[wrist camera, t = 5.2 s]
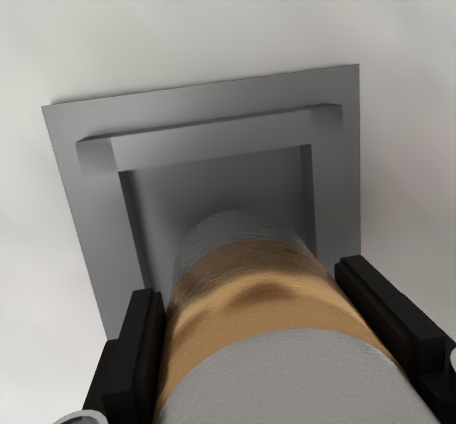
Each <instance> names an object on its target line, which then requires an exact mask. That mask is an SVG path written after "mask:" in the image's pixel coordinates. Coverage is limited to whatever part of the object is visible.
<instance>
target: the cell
mask: <svg viewBox="0 0 456 424" xmlns="http://www.w3.org/2000/svg"><path fill="white" fill-rule="evenodd" d="M152 424H441V423H440V422H439V420H438V419H437V418H436V416H435V415H434V414H433V412H432V411H431V410H430V408H429V407H428V406H427V404H426V403H425V402H424V401H423V399H422V398H421V397H420V395H419V394H418V393H417V391H416V390H415V389H414V387H413V386H412V384H411V382H410V380H409V378H408V376H407V375H406V373H405V372H404V370H403V368H402V367H401V366H400V364H399V363H398V362H397V361H396V359H395V358H394V357H393V355H392V354H391V353H390V351H389V350H388V349H387V348H386V346H385V345H384V344H383V342H382V341H381V340H380V339H379V337H378V336H377V335H376V333H375V332H374V331H373V329H372V328H371V327H370V326H369V324H368V323H367V322H366V320H365V319H364V318H363V317H362V315H361V314H360V313H359V311H358V310H357V309H356V307H355V306H354V305H353V304H352V302H351V301H350V300H349V298H348V297H347V296H346V295H345V293H344V292H343V291H342V289H341V288H340V287H339V285H338V284H337V283H336V282H335V280H334V279H333V278H332V276H331V275H330V274H329V273H328V271H327V270H326V269H325V268H324V266H323V265H322V264H321V263H320V262H319V261H318V260H317V259H316V258H315V257H314V256H313V254H312V253H311V252H310V251H309V249H308V248H307V247H306V245H305V244H304V243H303V241H302V240H301V239H300V237H299V236H298V235H297V233H296V232H295V231H294V230H293V229H292V228H291V227H290V226H289V225H288V224H287V223H286V222H284V221H283V220H281V219H280V218H278V217H276V216H274V215H272V214H270V213H267V212H264V211H260V210H254V209H233V210H228V211H224V212H221V213H218V214H215V215H213V216H211V217H209V218H207V219H205V220H204V221H202V222H201V223H199V224H198V225H197V226H196V227H195V228H194V229H192V230H191V232H190V233H189V234H188V235H187V236H186V237H185V239H184V240H183V242H182V243H181V245H180V247H179V249H178V251H177V254H176V257H175V261H174V267H173V275H172V283H171V291H170V299H169V302H168V306H167V311H166V318H165V326H164V334H163V341H162V349H161V357H160V365H159V373H158V381H157V388H156V396H155V404H154V412H153V420H152Z"/></svg>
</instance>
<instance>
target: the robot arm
mask: <svg viewBox="0 0 456 424" xmlns="http://www.w3.org/2000/svg"><path fill="white" fill-rule="evenodd" d="M334 277H335V282H336V283H337V284H338V285H339V287H340V288H341V289H342V291H343V292H344V293H345V295H346V296H347V297H348V298H349V300H350V301H351V302H352V304H353V305H354V306H355V307H356V309H357V310H358V311H359V313H360V314H361V315H362V317H363V318H364V319H365V320H366V322H367V323H368V324H369V326H370V327H371V328H372V329H373V331H374V332H375V333H376V335H377V336H378V337H379V339H380V340H381V341H382V342H383V344H384V345H385V346H386V348H387V349H388V350H389V351H390V353H391V354H392V355H393V357H394V358H395V359H396V361H397V362H398V363H399V364H400V366H401V367H402V368H403V370H404V372H405V373H406V375H407V376H408V378H409V380H410V382H411V384H412V386H413V387H414V389H415V390H416V391H417V393H418V394H419V395H420V397H421V398H422V399H423V401H424V402H425V403H426V404H427V406H428V407H429V408H430V410H431V411H432V412H433V414H434V415H435V416H436V418H437V419H438V420H439V422H440V423H441V424H456V343H455V342H454V341H453V340H452V339H451V338H450V337H449V336H448V335H447V334H446V333H445V332H444V331H443V330H442V329H440V328H439V327H438V326H437V325H436V324H435V323H434V322H433V321H432V320H431V319H430V318H429V317H428V316H427V315H426V314H424V313H423V312H422V311H421V310H420V309H419V308H418V307H417V306H416V305H415V304H414V303H413V302H412V301H411V300H410V299H409V298H407V297H406V296H405V295H404V294H402V293H401V292H400V291H399V290H397V289H396V288H395V287H394V286H393V285H392V284H391V283H390V282H389V281H388V280H387V279H386V278H385V277H384V276H383V275H382V274H381V273H379V272H378V271H377V270H376V269H375V268H374V267H373V266H372V265H371V264H370V263H369V262H368V261H367V260H366V259H365V258H364V257H363V256H361V255H354V256H347V257H341V258H340V261H339V263H335V265H334ZM165 318H166V313H165V308H164V303H163V299H162V294H161V292H160V291H158V292H154V289H153V288H146V289H140V290H134V291H133V292H132V296H131V299H130V302H129V305H128V308H127V312H126V315H125V318H124V321H123V325H122V328H121V331H120V334H119V337H118V339H112V340H108V341H107V342H106V344H105V346H104V349H103V352H102V354H101V357H100V360H99V363H98V366H97V369H96V371H95V374H94V377H93V380H92V383H91V385H90V388H89V391H88V394H87V397H86V399H85V402H84V405H83V408H82V410H81V411H77V412H73V413H70V414H68V415H66V416H64V417H62V418H60V419H59V420H57V421H56V422H55V423H53V424H152V420H153V412H154V404H155V396H156V388H157V381H158V373H159V365H160V357H161V349H162V341H163V334H164V326H165Z"/></svg>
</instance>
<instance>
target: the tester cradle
mask: <svg viewBox="0 0 456 424" xmlns="http://www.w3.org/2000/svg"><path fill="white" fill-rule="evenodd" d="M41 108H42V112H43V115H44V119H45V122H46V126H47V129H48V133H49V136H50V140H51V143H52V147H53V150H54V154H55V157H56V161H57V164H58V168H59V171H60V175H61V178H62V182H63V186H64V189H65V193H66V196H67V200H68V203H69V207H70V210H71V214H72V217H73V221H74V224H75V228H76V231H77V235H78V238H79V242H80V245H81V249H82V252H83V256H84V259H85V263H86V266H87V270H88V273H89V277H90V280H91V284H92V287H93V291H94V294H95V298H96V301H97V305H98V308H99V312H100V315H101V319H102V322H103V326H104V329H105V333H106V336H107V340H112V339H118V337H119V334H120V331H121V328H122V325H123V321H124V318H125V315H126V312H127V308H128V305H129V302H130V299H131V296H132V292H133V291H134V290H140V289H146V288H153V289H154V292H158V291H160V292H161V294H162V299H163V303H164V308H165V313H166V311H167V306H168V302H169V299H170V291H171V283H172V275H173V267H174V261H175V257H176V254H177V251H178V249H179V247H180V245H181V243H182V242H183V240H184V239H185V237H186V236H187V235H188V234H189V233H190V232H191V230H192V229H194V228H195V227H196V226H197V225H198V224H199V223H201V222H202V221H204V220H205V219H207V218H209V217H211V216H213V215H215V214H218V213H221V212H224V211H228V210H233V209H254V210H260V211H264V212H267V213H270V214H272V215H274V216H276V217H278V218H280V219H281V220H283V221H284V222H286V223H287V224H288V225H289V226H290V227H291V228H292V229H293V230H294V231H295V232H296V233H297V235H298V236H299V237H300V239H301V240H302V241H303V243H304V244H305V245H306V247H307V248H308V249H309V251H310V252H311V253H312V254H313V256H314V257H315V258H316V259H317V260H318V261H319V262H320V263H321V264H322V265H323V266H324V268H325V269H326V270H327V271H328V273H329V274H330V275H331V276H332V278H333V279H334V280H335V277H334V265H335V263H339V261H340V258H341V257H347V256H354V255H361V247H360V101H359V64H353V65H346V66H338V67H331V68H323V69H316V70H308V71H301V72H293V73H286V74H278V75H271V76H263V77H256V78H248V79H241V80H234V81H226V82H219V83H211V84H204V85H196V86H189V87H181V88H174V89H166V90H159V91H151V92H144V93H136V94H129V95H121V96H114V97H106V98H99V99H92V100H84V101H77V102H69V103H62V104H54V105H47V106H41Z"/></svg>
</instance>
